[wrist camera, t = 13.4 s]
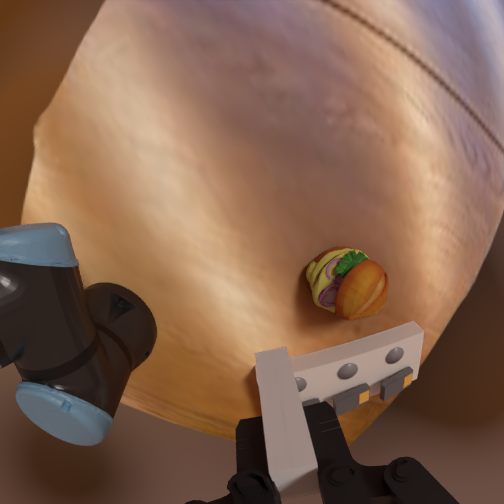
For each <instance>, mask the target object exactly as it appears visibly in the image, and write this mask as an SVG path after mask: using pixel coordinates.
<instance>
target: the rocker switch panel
mask: <svg viewBox="0 0 504 504" xmlns="http://www.w3.org/2000/svg"><path fill="white" fill-rule="evenodd" d="M423 336H424V331H423V330H422V329H421V328H420V327H419V326H418V325H417V324H416V323H415V322H414V321H411V322H408V323H405V324H403V325H400V326H397V327H394V328H391V329H388V330H385V331H382V332H379V333H376V334H373V335H370V336H367V337H364V338H361V339H357V340H354V341H351V342H347V343H344V344H341V345H337V346H333V347H330V348H326V349H323V350H319V351H315V352H311V353H307V354H303V355H299V356H295V357H291V358H290V362H291V365H292V369H293V373H294V376H295V380H296V384H297V388H298V391H299V395H300V399H301V403H304V402H307V401H310V400H313V399H316V398H319V400H320V402H323V401H326V402H327V403H329V404H330V405H331V406H332V407H333V400H332V398H334V397H336V396H338V395H341V394H343V393H345V392H347V391H349V390H352V389H354V388H356V387H358V386H360V385H362V384H364V383H367V384H368V385H369V386H370V396H373V395H376V394H379V393H380V387H381V383H382V382H384V381H386V380H387V379H389V378H391V377H392V376H394V375H396V374H397V373H399V372H400V371H402V370H404V369H405V368H407V367H408V366H409V367H411V368H412V369H413V376H412V380H415V379H417V375H418V370H419V364H420V358H421V351H422V344H423ZM255 369H256V378H257V383H258V375H257V366H256V365H255ZM258 386H259V383H258Z"/></svg>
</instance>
